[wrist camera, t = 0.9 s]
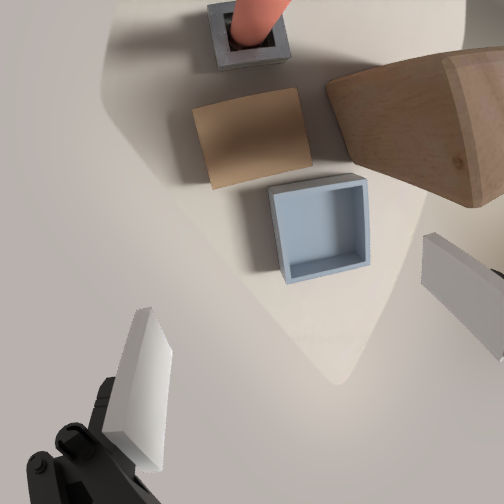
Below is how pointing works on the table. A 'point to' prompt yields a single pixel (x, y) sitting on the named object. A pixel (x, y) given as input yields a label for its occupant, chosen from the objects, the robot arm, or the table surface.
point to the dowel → (254, 22)
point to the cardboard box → (252, 137)
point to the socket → (250, 57)
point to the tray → (321, 226)
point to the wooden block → (429, 122)
